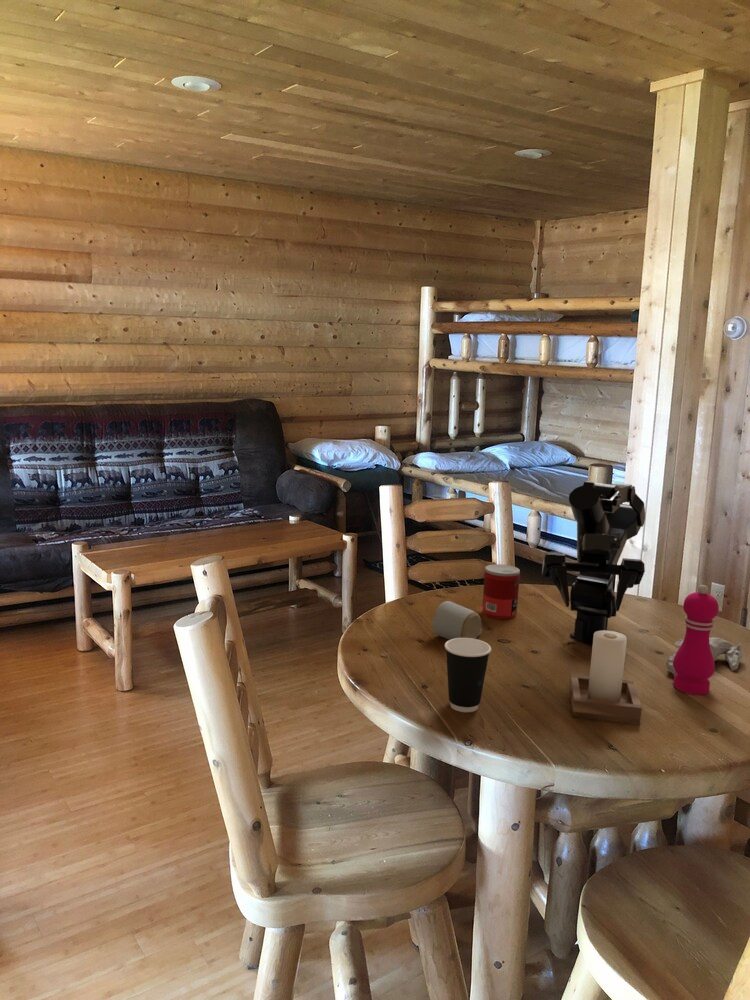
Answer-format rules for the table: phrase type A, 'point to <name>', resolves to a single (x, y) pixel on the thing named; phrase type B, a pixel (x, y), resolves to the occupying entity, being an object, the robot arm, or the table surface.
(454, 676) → the dixie cup
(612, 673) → the paper roll
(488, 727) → the table surface
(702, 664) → the pepper mill
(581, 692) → the tray
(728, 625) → the table surface
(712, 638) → the seahorse
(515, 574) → the canned food
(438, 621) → the ceramic mug
